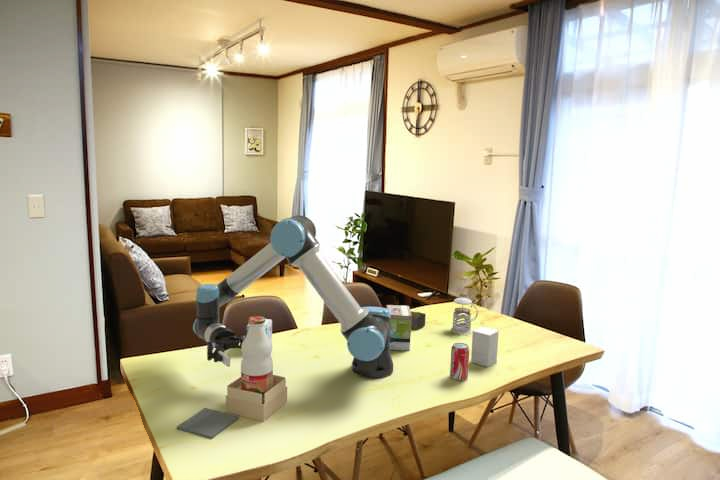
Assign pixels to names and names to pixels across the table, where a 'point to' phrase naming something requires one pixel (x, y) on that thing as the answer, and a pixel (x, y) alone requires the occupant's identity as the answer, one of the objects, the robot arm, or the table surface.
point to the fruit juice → (256, 359)
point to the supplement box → (484, 346)
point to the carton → (256, 399)
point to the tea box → (400, 327)
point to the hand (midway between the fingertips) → (250, 357)
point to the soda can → (459, 361)
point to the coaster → (208, 423)
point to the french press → (462, 316)
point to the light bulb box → (266, 328)
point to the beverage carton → (417, 320)
